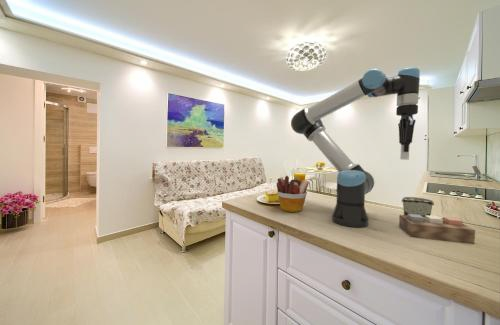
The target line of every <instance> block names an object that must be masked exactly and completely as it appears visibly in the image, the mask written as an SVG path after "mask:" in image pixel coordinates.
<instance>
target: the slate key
mask: <svg viewBox="0 0 500 325" xmlns="http://www.w3.org/2000/svg"><path fill="white" fill-rule="evenodd" d="M408 220H410V221H413V222H424V217H422V216H420V215H416V214H408Z"/></svg>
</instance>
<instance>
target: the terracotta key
mask: <svg viewBox="0 0 500 325" xmlns="http://www.w3.org/2000/svg"><path fill="white" fill-rule="evenodd" d="M442 218H443V222H444V223H446V224H448V225H458V226H462V224H464V223H463V222H464V221H463V220H462V219H459V218H457V217H450V216H442Z"/></svg>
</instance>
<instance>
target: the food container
mask: <svg viewBox="0 0 500 325" xmlns="http://www.w3.org/2000/svg"><path fill="white" fill-rule="evenodd" d="M401 203H402V206H403V208H402V209H403V215H408V214H416V215H420V216H422V217H425V215H428V216H432V214H431V213H432V210H433V206H435V203H434V201H433V200H431V199H428V198H422V197H415V196H414V197H413V196H405V197H402V199H401Z"/></svg>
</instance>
